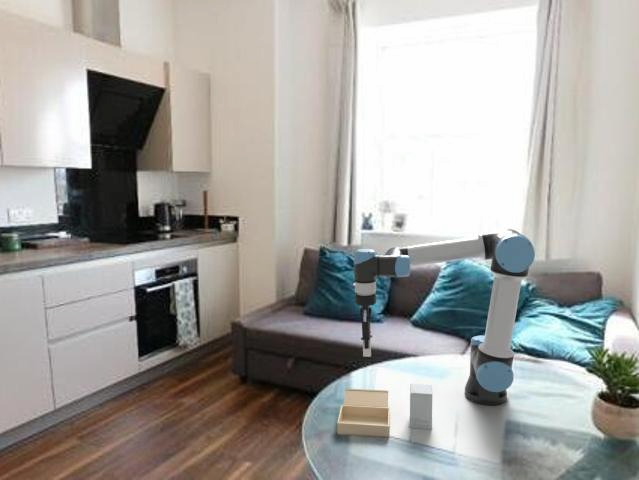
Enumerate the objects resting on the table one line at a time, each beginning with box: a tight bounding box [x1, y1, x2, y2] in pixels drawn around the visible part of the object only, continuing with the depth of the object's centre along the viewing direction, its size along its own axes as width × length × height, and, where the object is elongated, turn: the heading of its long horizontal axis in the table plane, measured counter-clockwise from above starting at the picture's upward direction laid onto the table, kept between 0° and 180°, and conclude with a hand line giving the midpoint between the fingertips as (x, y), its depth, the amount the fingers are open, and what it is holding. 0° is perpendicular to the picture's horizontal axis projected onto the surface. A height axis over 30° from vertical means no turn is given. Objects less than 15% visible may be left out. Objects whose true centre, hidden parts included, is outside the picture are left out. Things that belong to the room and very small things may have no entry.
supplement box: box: [409, 383, 433, 430], centre depth 162 cm, size 7×7×13 cm
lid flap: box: [343, 388, 389, 407], centre depth 172 cm, size 16×8×1 cm, turn 81°
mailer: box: [336, 404, 391, 438], centre depth 162 cm, size 17×12×4 cm
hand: (367, 355), depth 173 cm, fingers closed
